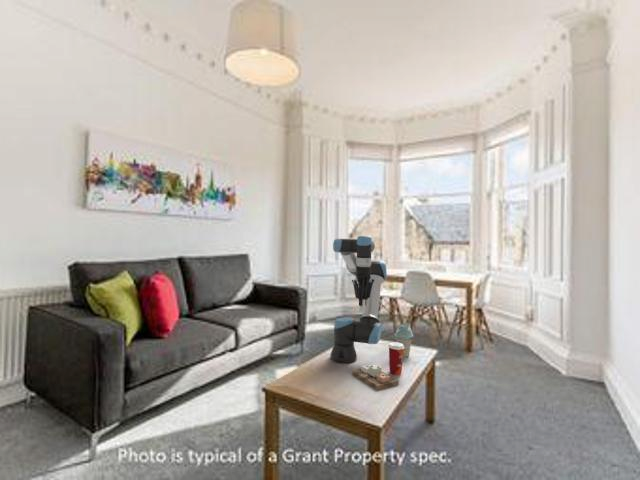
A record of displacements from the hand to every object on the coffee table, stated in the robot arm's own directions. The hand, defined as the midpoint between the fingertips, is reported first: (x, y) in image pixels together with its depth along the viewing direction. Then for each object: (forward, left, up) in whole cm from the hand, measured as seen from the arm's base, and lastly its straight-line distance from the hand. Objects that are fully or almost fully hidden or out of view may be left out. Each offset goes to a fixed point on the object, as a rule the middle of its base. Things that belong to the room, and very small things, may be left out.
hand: (362, 311), depth 179 cm
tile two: (+8, +3, -30) cm, 31 cm away
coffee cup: (+6, +18, -33) cm, 38 cm away
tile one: (+2, +3, -32) cm, 32 cm away
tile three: (+14, +3, -32) cm, 35 cm away
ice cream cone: (-12, +41, -33) cm, 54 cm away
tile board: (+8, +3, -32) cm, 33 cm away
